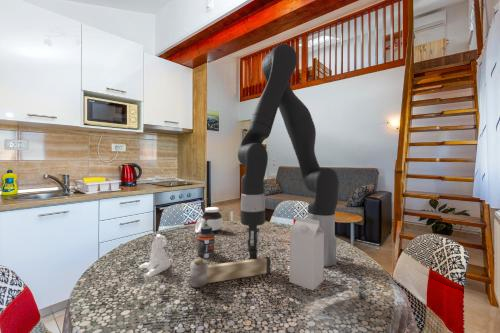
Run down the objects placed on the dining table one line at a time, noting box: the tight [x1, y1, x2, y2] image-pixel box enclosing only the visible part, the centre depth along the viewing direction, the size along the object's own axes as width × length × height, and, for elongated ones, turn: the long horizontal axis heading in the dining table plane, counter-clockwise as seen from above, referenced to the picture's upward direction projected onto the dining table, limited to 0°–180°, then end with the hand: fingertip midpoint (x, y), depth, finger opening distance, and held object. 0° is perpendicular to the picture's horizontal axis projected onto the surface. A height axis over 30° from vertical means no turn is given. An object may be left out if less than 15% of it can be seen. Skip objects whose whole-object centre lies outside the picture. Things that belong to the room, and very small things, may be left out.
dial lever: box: [189, 256, 271, 288], centre depth 68 cm, size 23×4×6 cm, turn 110°
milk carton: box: [288, 216, 324, 291], centre depth 67 cm, size 7×7×19 cm
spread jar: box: [194, 206, 223, 234], centre depth 119 cm, size 12×11×12 cm
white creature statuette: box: [139, 233, 172, 278], centre depth 75 cm, size 10×9×12 cm
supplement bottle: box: [197, 226, 216, 259], centre depth 86 cm, size 6×6×11 cm
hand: (253, 263), depth 74 cm, fingers closed
